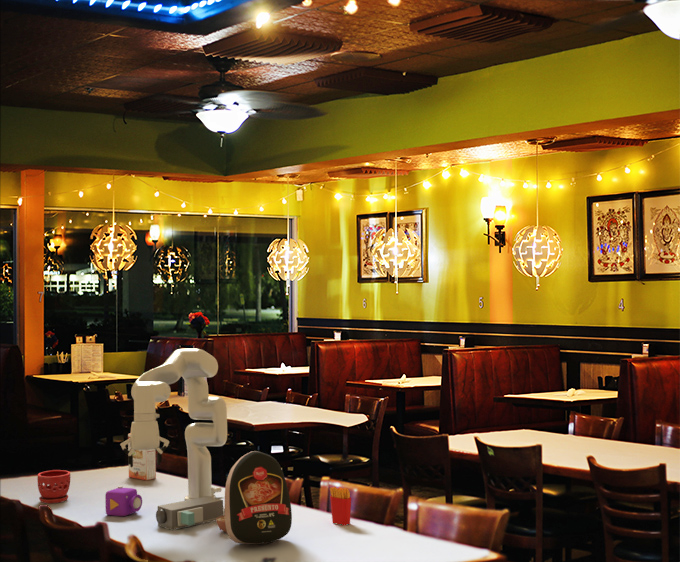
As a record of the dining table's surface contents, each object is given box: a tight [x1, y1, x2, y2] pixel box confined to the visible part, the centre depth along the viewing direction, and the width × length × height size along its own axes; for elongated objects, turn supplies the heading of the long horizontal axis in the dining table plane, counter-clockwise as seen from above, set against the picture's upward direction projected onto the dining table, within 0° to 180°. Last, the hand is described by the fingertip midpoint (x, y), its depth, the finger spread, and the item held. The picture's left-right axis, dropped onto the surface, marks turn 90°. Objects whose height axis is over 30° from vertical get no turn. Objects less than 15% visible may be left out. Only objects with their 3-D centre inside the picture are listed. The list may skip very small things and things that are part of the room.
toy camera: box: [104, 485, 143, 517], centre depth 333 cm, size 11×14×10 cm
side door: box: [177, 507, 203, 526], centre depth 309 cm, size 10×6×5 cm, turn 132°
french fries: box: [329, 486, 352, 526], centre depth 311 cm, size 9×4×13 cm, turn 47°
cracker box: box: [127, 432, 157, 481], centre depth 405 cm, size 14×6×21 cm, turn 49°
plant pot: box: [37, 469, 71, 504], centre depth 358 cm, size 13×13×12 cm
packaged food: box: [224, 450, 293, 545], centre depth 288 cm, size 22×20×30 cm
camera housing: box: [155, 496, 224, 531], centre depth 317 cm, size 24×11×7 cm, turn 132°
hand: (145, 465), depth 309 cm, fingers open, 9 cm apart
